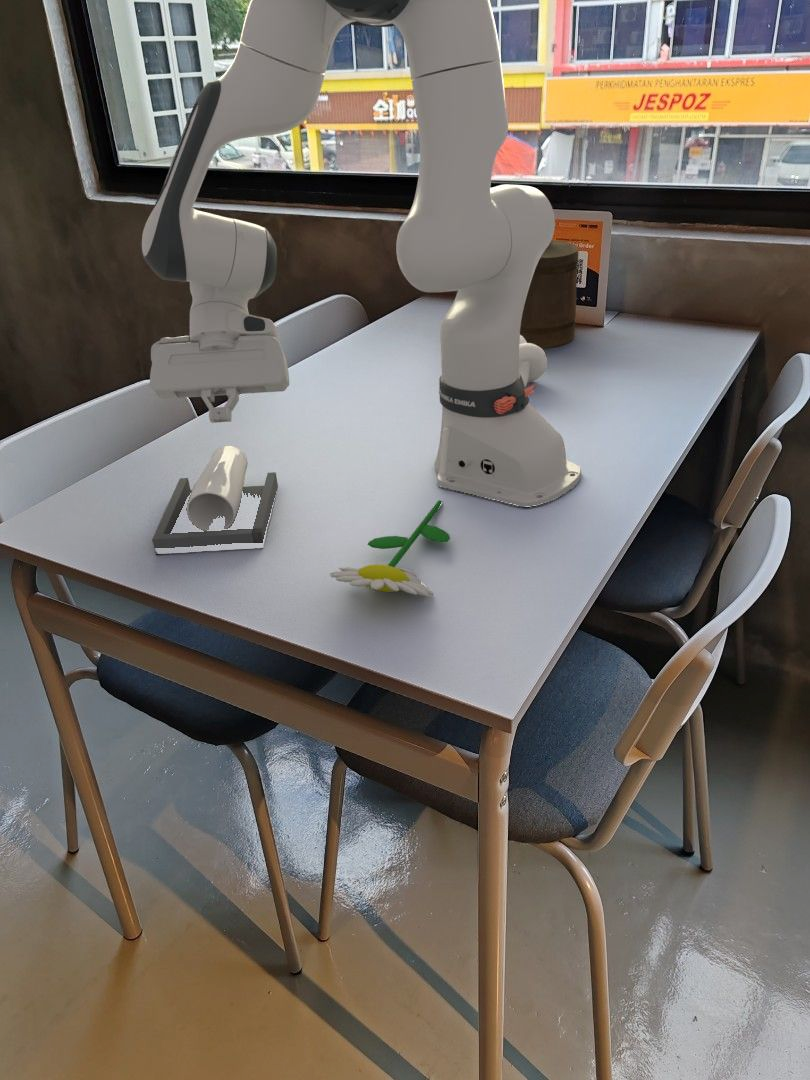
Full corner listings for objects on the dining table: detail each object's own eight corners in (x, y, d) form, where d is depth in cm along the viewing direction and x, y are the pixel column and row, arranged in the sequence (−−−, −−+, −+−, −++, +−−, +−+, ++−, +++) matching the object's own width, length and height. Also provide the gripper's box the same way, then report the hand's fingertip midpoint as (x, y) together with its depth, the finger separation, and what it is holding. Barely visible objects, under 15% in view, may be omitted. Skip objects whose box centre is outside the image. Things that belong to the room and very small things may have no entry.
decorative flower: (397, 514, 120) (311, 613, 94) (398, 483, 118) (311, 575, 92) (482, 528, 116) (417, 635, 91) (485, 497, 114) (419, 597, 89)
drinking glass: (253, 480, 126) (236, 535, 113) (208, 477, 125) (187, 532, 113) (252, 441, 122) (235, 493, 109) (206, 437, 122) (183, 489, 109)
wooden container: (585, 330, 176) (591, 222, 164) (557, 352, 166) (561, 239, 154) (521, 322, 183) (523, 218, 172) (491, 343, 173) (490, 234, 161)
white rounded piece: (544, 374, 156) (546, 328, 152) (547, 399, 146) (549, 350, 141) (485, 375, 158) (484, 329, 153) (483, 400, 148) (483, 352, 143)
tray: (183, 492, 124) (179, 478, 123) (278, 486, 124) (275, 472, 123) (156, 555, 110) (152, 539, 109) (263, 548, 110) (260, 532, 108)
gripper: (144, 328, 121) (142, 417, 118) (282, 319, 120) (285, 408, 117) (158, 348, 127) (156, 432, 124) (290, 339, 126) (292, 424, 123)
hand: (220, 421), depth 120 cm, fingers closed
